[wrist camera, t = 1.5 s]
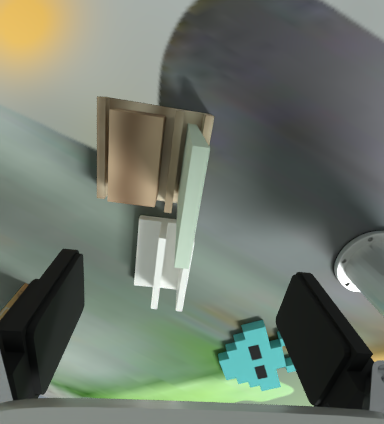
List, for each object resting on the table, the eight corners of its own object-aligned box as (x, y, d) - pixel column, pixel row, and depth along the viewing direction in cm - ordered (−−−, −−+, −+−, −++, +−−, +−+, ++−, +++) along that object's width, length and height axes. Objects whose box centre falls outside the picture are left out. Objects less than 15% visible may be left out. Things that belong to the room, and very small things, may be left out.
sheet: (196, 124, 33) (210, 148, 17) (185, 194, 37) (188, 269, 21) (187, 123, 33) (192, 145, 17) (177, 193, 37) (174, 267, 21)
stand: (195, 221, 41) (198, 242, 35) (184, 284, 46) (185, 311, 40) (140, 214, 40) (133, 235, 34) (135, 279, 45) (128, 306, 39)
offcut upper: (165, 116, 30) (163, 118, 28) (156, 200, 35) (154, 207, 32) (114, 108, 30) (109, 109, 27) (112, 194, 34) (107, 201, 32)
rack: (209, 114, 34) (214, 116, 29) (194, 201, 39) (196, 216, 34) (105, 96, 33) (91, 96, 28) (104, 189, 38) (92, 203, 33)
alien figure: (305, 307, 50) (209, 330, 52) (310, 315, 48) (210, 340, 50) (315, 368, 58) (231, 387, 60) (319, 378, 56) (233, 397, 58)
